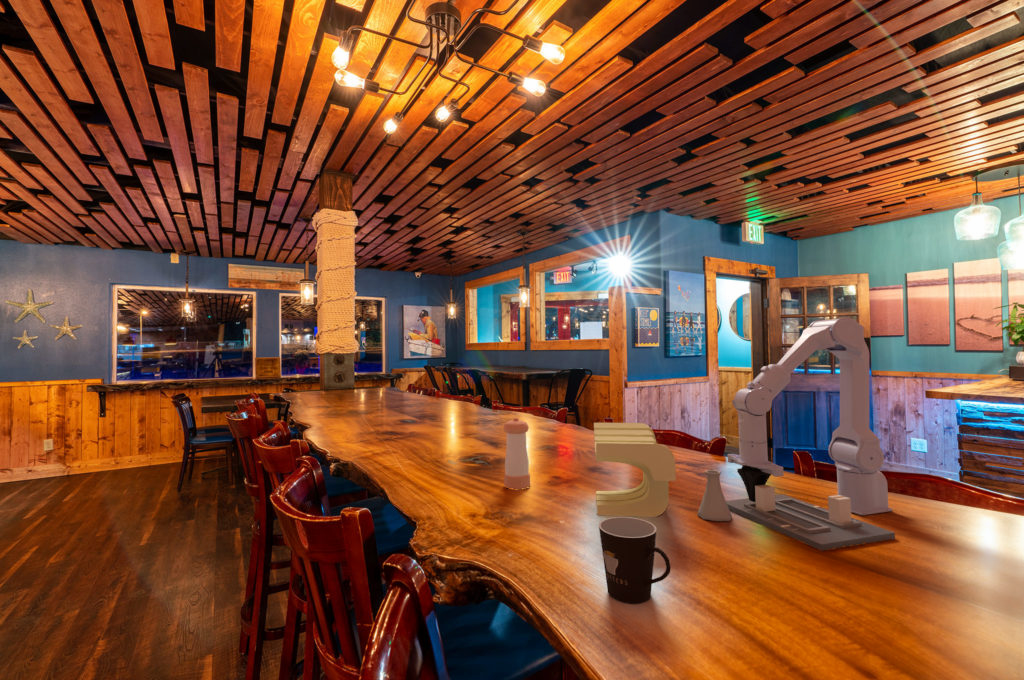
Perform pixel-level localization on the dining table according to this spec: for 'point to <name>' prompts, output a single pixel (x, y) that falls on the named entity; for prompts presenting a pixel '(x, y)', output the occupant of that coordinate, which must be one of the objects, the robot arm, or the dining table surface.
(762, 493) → the fader
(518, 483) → the pepper shaker
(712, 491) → the flask
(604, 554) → the coffee mug
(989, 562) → the dining table surface
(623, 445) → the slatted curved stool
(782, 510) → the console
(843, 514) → the fader
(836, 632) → the dining table surface
